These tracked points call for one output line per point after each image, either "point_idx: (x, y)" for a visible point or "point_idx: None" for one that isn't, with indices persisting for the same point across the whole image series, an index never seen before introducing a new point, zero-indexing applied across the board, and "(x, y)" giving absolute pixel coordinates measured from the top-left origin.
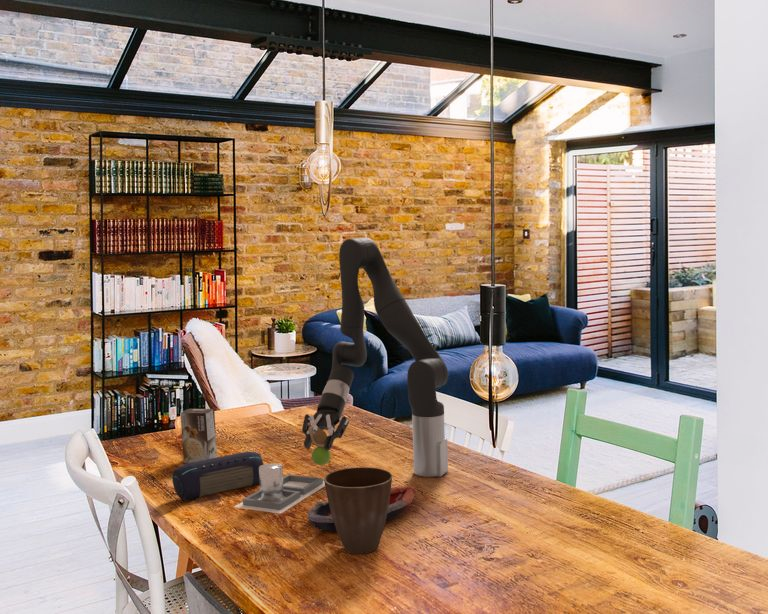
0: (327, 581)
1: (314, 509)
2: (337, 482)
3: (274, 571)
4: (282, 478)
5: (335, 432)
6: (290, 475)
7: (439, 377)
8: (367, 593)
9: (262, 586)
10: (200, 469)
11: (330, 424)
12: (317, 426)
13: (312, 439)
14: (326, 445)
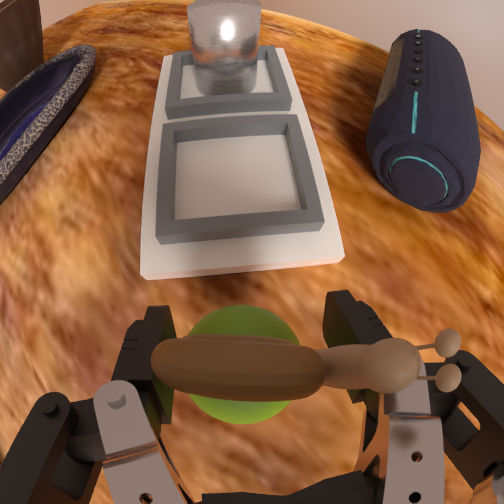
0: (56, 33)
1: (84, 55)
2: (21, 11)
3: (108, 15)
4: (191, 39)
5: (65, 406)
6: (303, 211)
7: None
8: None
9: (110, 6)
10: (414, 35)
11: (120, 491)
12: (370, 479)
13: (322, 349)
14: (147, 313)
